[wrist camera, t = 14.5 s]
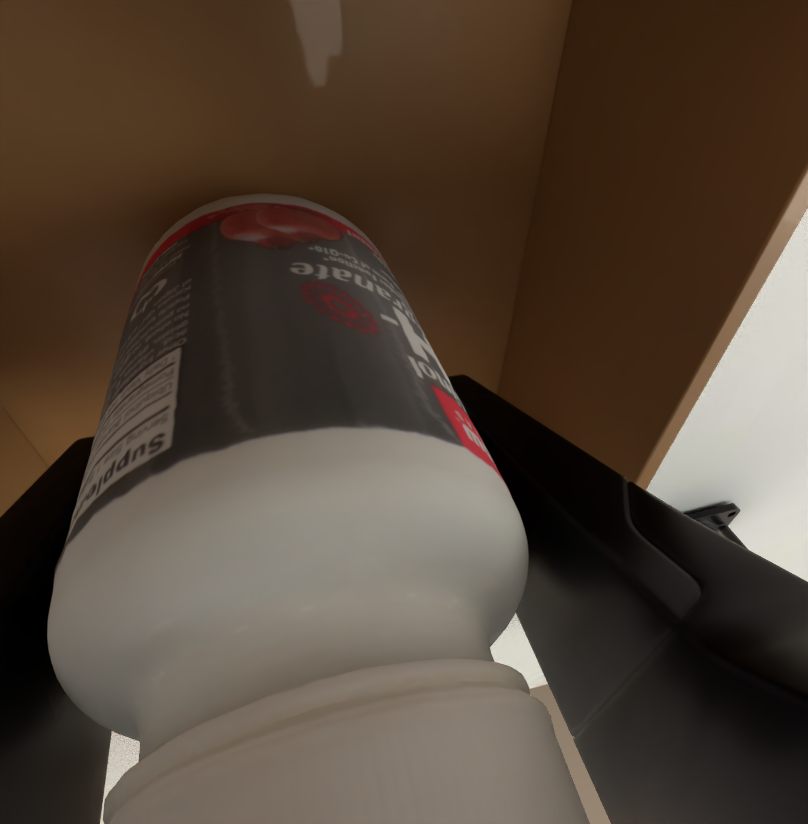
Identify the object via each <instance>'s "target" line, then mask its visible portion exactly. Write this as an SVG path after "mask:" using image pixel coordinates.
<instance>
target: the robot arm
mask: <svg viewBox="0 0 808 824" xmlns="http://www.w3.org/2000/svg"><path fill="white" fill-rule="evenodd" d="M448 378H449V381H450V383H451V385H452V387H453V389H454V391H455V393H456V394H457V396H458V397H459V399H460V400H461V402H462V404H463V406H464V408H465V410H466V412H467V414H468V416H469V418H470V420H471V422H472V423H473V425H474V427H475V428H476V430H477V432H478V434H479V435H480V437H481V439H482V441H483V443H484V445H485V447H486V448H487V450H488V452H489V454H490V456H491V458H492V459H493V461H494V463H495V465H496V467H497V469H498V471H499V473H500V474H501V476H502V478H503V480H504V482H505V483H506V485H507V487H508V489H509V492H510V494H511V497H512V499H513V501H514V503H515V505H516V507H517V509H518V511H519V514H520V517H521V519H522V522H523V525H524V529H525V533H526V537H527V542H528V554H529V561H528V575H527V581H526V585H525V589H524V592H523V596H522V599H521V601H520V603H519V606H518V608H517V610H516V614H517V616H518V618H519V621H520V623H521V625H522V627H523V629H524V632H525V634H526V636H527V638H528V640H529V643H530V645H531V647H532V649H533V651H534V654H535V656H536V658H537V660H538V662H539V665H540V667H541V669H542V671H543V673H544V676H545V678H546V680H547V682H548V684H549V687H550V689H551V691H552V693H553V695H554V697H555V700H556V702H557V704H558V707H559V709H560V711H561V713H562V715H563V717H564V720H565V722H566V724H567V726H568V729H569V731H570V733H571V735H572V736H574V738H573V740H574V742H575V744H576V747H577V749H578V751H579V753H580V755H581V758H582V760H583V762H584V764H585V767H586V769H587V771H588V773H589V775H590V778H591V780H592V782H593V784H594V786H595V788H596V791H597V793H598V795H599V797H600V800H601V802H602V804H603V806H604V809H605V811H606V813H607V815H608V817H609V820H610V822H611V824H808V582H807V581H805V580H803V579H801V578H799V577H798V576H796V575H794V574H792V573H790V572H788V571H786V570H785V569H783V568H781V567H779V566H777V565H775V564H774V563H772V562H770V561H768V560H766V559H764V558H762V557H761V556H759V555H757V554H755V553H753V552H751V551H750V550H748V549H747V548H746V546H745V545H744V544H743V543H742V542H741V541H740V540H739V538H738V537H737V536H736V535H735V534H734V533H733V532H732V531H731V529H730V528H729V527H728V525H729V524H730V523H731V521H732V520H733V519H734V518H735V517H736V515H737V514H738V513H739V511H740V509H739V508H738V507H737V506H736V505H735V504H734V503H731V504H727V505H723V506H719V507H715V508H711V509H707V510H704V511H700V512H696V513H692V514H688V515H685V514H683V513H681V512H680V511H678V510H677V509H675V508H673V507H672V506H670V505H668V504H667V503H665V502H664V501H662V500H660V499H659V498H657V497H655V496H654V495H652V494H651V493H649V492H648V491H646V490H644V489H643V488H641V487H640V486H638V485H637V484H635V483H634V482H632V481H629V482H627V479H626V478H625V477H624V476H622V475H621V474H619V473H618V472H616V471H615V470H613V469H611V468H610V467H608V466H607V465H605V464H604V463H602V462H601V461H599V460H598V459H596V458H594V457H593V456H591V455H590V454H588V453H587V452H585V451H584V450H582V449H580V448H579V447H577V446H576V445H574V444H573V443H571V442H570V441H568V440H566V439H565V438H563V437H562V436H560V435H559V434H557V433H556V432H554V431H552V430H551V429H549V428H548V427H546V426H545V425H543V424H542V423H540V422H539V421H537V420H535V419H534V418H532V417H531V416H529V415H528V414H526V413H525V412H523V411H521V410H520V409H518V408H517V407H515V406H514V405H512V404H511V403H509V402H507V401H506V400H504V399H503V398H501V397H500V396H498V395H497V394H495V393H493V392H492V391H490V390H489V389H487V388H486V387H484V386H483V385H481V384H480V383H478V382H476V381H475V380H473V379H472V378H470V377H469V376H467V375H464V374H460V375H454V376H448ZM94 437H95V436H92V437H86V438H81V439H78V440H76V441H75V442H74V443H73V444H72V445H71V446H70V447H69V448H68V449H67V450H66V451H65V452H64V453H63V454H62V455H61V456H60V457H59V458H58V459H57V460H56V461H55V462H54V463H53V464H52V465H51V466H50V467H49V468H48V469H47V470H46V471H45V472H44V473H43V474H42V475H41V476H40V477H39V478H38V479H37V480H36V481H35V482H34V483H33V484H32V485H31V486H30V487H29V488H28V489H27V490H26V491H25V492H24V493H23V494H22V495H21V496H20V497H19V499H18V500H17V501H16V502H15V503H14V504H13V505H12V506H11V507H10V508H9V509H8V510H7V511H6V512H5V513H4V514H3V515H2V516H1V517H0V824H100V818H101V811H102V803H103V795H104V787H105V779H106V771H107V764H108V756H109V748H110V740H111V732H112V730H110V729H108V728H106V727H104V726H102V725H100V724H98V723H96V722H95V721H94V720H93V719H91V718H90V717H89V716H87V715H86V714H85V713H84V712H82V711H81V710H80V709H79V708H78V707H77V706H76V705H75V704H74V703H73V702H72V700H71V699H70V698H69V696H68V695H67V694H66V693H65V691H64V689H63V688H62V686H61V684H60V683H59V681H58V679H57V677H56V674H55V671H54V668H53V666H52V663H51V658H50V654H49V649H48V639H47V629H48V616H49V610H50V604H51V599H52V594H53V587H54V574H55V567H56V565H57V563H58V560H59V558H60V556H61V553H62V551H63V548H64V545H65V543H66V540H67V537H68V534H69V529H70V525H71V520H72V516H73V513H74V510H75V507H76V504H77V499H78V496H79V492H80V488H81V485H82V481H83V478H84V474H85V471H86V468H87V464H88V461H89V457H90V453H91V449H92V444H93V440H94Z"/></svg>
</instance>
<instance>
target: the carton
mask: <svg viewBox="0 0 808 824" xmlns="http://www.w3.org/2000/svg"><path fill="white" fill-rule="evenodd" d="M264 193H267V194H277V195H289V196H294V197H300V198H303V199H306V200H309V201H312V202H314V203H317V204H320V205H322V206H324V207H326V208H328V209H331V210H333V211H335V212H336V213H338V214H340V215H342V216H343V217H345V218H346V219H347V220H349V221H350V222H351V223H353V224H354V225H355V226H356V227H357V228H359V229H360V230H361V231H362V232H363V233H364V234H365V235H366V236H367V237H368V238H369V239H370V240H371V242H372V243H373V244H374V245H375V246H376V248H377V249H378V250H379V252H380V253H381V255H382V257H383V258H384V260H385V261H386V263H387V265H388V267H389V268H390V270H391V272H392V273H393V275H394V277H395V279H396V281H397V282H398V284H399V287H400V288H401V290H402V292H403V294H404V296H405V298H406V299H407V301H408V303H409V305H410V307H411V309H412V311H413V313H414V315H415V317H416V319H417V321H418V322H419V324H420V326H421V328H422V330H423V332H424V334H425V336H426V338H427V340H428V342H429V343H430V346H431V348H432V349H433V351H434V353H435V355H436V357H437V359H438V360H439V362H440V364H441V366H442V368H443V369H444V371H445V373H446V374H447V377H448V376H454V375H460V374H464V375H467V376H469V377H470V378H472V379H473V380H475V381H476V382H478V383H480V384H481V385H483V386H484V387H486V388H487V389H489V390H490V391H492V392H493V393H495V394H497V395H498V396H500V397H501V398H503V399H504V400H506V401H507V402H509V403H511V404H512V405H514V406H515V407H517V408H518V409H520V410H521V411H523V412H525V413H526V414H528V415H529V416H531V417H532V418H534V419H535V420H537V421H539V422H540V423H542V424H543V425H545V426H546V427H548V428H549V429H551V430H552V431H554V432H556V433H557V434H559V435H560V436H562V437H563V438H565V439H566V440H568V441H570V442H571V443H573V444H574V445H576V446H577V447H579V448H580V449H582V450H584V451H585V452H587V453H588V454H590V455H591V456H593V457H594V458H596V459H598V460H599V461H601V462H602V463H604V464H605V465H607V466H608V467H610V468H611V469H613V470H615V471H616V472H618V473H619V474H621V475H622V476H624V477H625V478H626V479H627V482H629V481H632V482H634V483H635V484H637V485H638V486H640V487H641V488H643V489H644V490H646V489H647V487H648V485H649V483H650V482H651V480H652V478H653V476H654V475H655V473H656V471H657V469H658V468H659V466H660V464H661V462H662V461H663V459H664V457H665V455H666V454H667V452H668V450H669V449H670V447H671V445H672V443H673V442H674V440H675V438H676V436H677V435H678V433H679V431H680V429H681V428H682V426H683V424H684V422H685V421H686V419H687V417H688V415H689V414H690V412H691V410H692V408H693V407H694V405H695V403H696V401H697V400H698V398H699V396H700V394H701V393H702V391H703V389H704V388H705V386H706V384H707V382H708V381H709V379H710V377H711V375H712V374H713V372H714V370H715V368H716V367H717V365H718V363H719V361H720V360H721V358H722V356H723V354H724V353H725V351H726V349H727V347H728V346H729V344H730V342H731V340H732V339H733V337H734V335H735V333H736V332H737V330H738V328H739V327H740V325H741V323H742V321H743V320H744V318H745V316H746V314H747V313H748V311H749V309H750V307H751V306H752V304H753V302H754V300H755V299H756V297H757V295H758V293H759V292H760V290H761V288H762V286H763V285H764V283H765V281H766V279H767V278H768V276H769V274H770V273H771V271H772V269H773V267H774V266H775V264H776V262H777V260H778V259H779V257H780V255H781V253H782V252H783V250H784V248H785V246H786V245H787V243H788V241H789V239H790V238H791V236H792V234H793V232H794V231H795V229H796V227H797V225H798V224H799V222H800V220H801V218H802V217H803V215H804V213H805V212H806V210H807V208H808V0H0V517H1V516H2V515H3V514H4V513H5V512H6V511H7V510H8V509H9V508H10V507H11V506H12V505H13V504H14V503H15V502H16V501H17V500H18V499H19V497H20V496H21V495H22V494H23V493H24V492H25V491H26V490H27V489H28V488H29V487H30V486H31V485H32V484H33V483H34V482H35V481H36V480H37V479H38V478H39V477H40V476H41V475H42V474H43V473H44V472H45V471H46V470H47V469H48V468H49V467H50V466H51V465H52V464H53V463H54V462H55V461H56V460H57V459H58V458H59V457H60V456H61V455H62V454H63V453H64V452H65V451H66V450H67V449H68V448H69V447H70V446H71V445H72V444H73V443H74V442H75V441H76V440H78V439H81V438H86V437H92V436H95V435H96V432H97V429H98V426H99V421H100V417H101V413H102V409H103V406H104V402H105V397H106V393H107V389H108V386H109V382H110V379H111V376H112V371H113V367H114V363H115V360H116V357H117V353H118V349H119V344H120V340H121V337H122V333H123V330H124V326H125V323H126V319H127V316H128V312H129V309H130V305H131V302H132V299H133V297H134V294H135V289H136V286H137V282H138V279H139V276H140V273H141V270H142V268H143V265H144V263H145V261H146V259H147V257H148V255H149V253H150V252H151V250H152V249H153V247H154V245H155V244H156V243H157V242H158V241H159V240H160V239H161V237H162V236H163V235H164V234H165V232H167V231H168V230H169V229H170V228H171V227H172V226H173V225H174V224H175V223H176V222H178V221H179V220H181V219H182V218H184V217H185V216H187V215H188V214H190V213H191V212H193V211H194V210H196V209H198V208H200V207H202V206H203V205H206V204H209V203H211V202H214V201H217V200H220V199H222V198H226V197H232V196H240V195H248V194H264Z"/></svg>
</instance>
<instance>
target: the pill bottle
mask: <svg viewBox="0 0 808 824" xmlns="http://www.w3.org/2000/svg"><path fill="white" fill-rule="evenodd" d="M528 561H529V554H528V542H527V537H526V533H525V529H524V525H523V522H522V519H521V517H520V514H519V511H518V509H517V507H516V505H515V503H514V501H513V499H512V497H511V494H510V492H509V489H508V487H507V485H506V483H505V482H504V480H503V478H502V476H501V474H500V473H499V471H498V469H497V467H496V465H495V463H494V461H493V459H492V458H491V456H490V454H489V452H488V450H487V448H486V447H485V445H484V443H483V441H482V439H481V437H480V435H479V434H478V432H477V430H476V428H475V427H474V425H473V423H472V422H471V420H470V418H469V416H468V414H467V412H466V410H465V408H464V406H463V404H462V402H461V400H460V399H459V397H458V396H457V394H456V393H455V391H454V389H453V387H452V385H451V383H450V381H449V378H448V377H447V374H446V373H445V371H444V369H443V368H442V366H441V364H440V362H439V360H438V359H437V357H436V355H435V353H434V351H433V349H432V348H431V346H430V343H429V342H428V340H427V338H426V336H425V334H424V332H423V330H422V328H421V326H420V324H419V322H418V321H417V319H416V317H415V315H414V313H413V311H412V309H411V307H410V305H409V303H408V301H407V299H406V298H405V296H404V294H403V292H402V290H401V288H400V287H399V284H398V282H397V281H396V279H395V277H394V275H393V273H392V272H391V270H390V268H389V267H388V265H387V263H386V261H385V260H384V258H383V257H382V255H381V253H380V252H379V250H378V249H377V248H376V246H375V245H374V244H373V243H372V242H371V240H370V239H369V238H368V237H367V236H366V235H365V234H364V233H363V232H362V231H361V230H360V229H359V228H357V227H356V226H355V225H354V224H353V223H351V222H350V221H349V220H347V219H346V218H345V217H343V216H342V215H340V214H338V213H336V212H335V211H333V210H331V209H328V208H326V207H324V206H322V205H320V204H317V203H314V202H312V201H309V200H306V199H303V198H300V197H294V196H289V195H277V194H267V193H264V194H248V195H240V196H232V197H226V198H222V199H220V200H217V201H214V202H211V203H209V204H206V205H203V206H202V207H200V208H198V209H196V210H194V211H193V212H191V213H190V214H188V215H187V216H185V217H184V218H182V219H181V220H179V221H178V222H176V223H175V224H174V225H173V226H172V227H171V228H170V229H169V230H168V231H167V232H165V234H164V235H163V236H162V237H161V239H160V240H159V241H158V242H157V243H156V244H155V245H154V247H153V249H152V250H151V252H150V253H149V255H148V257H147V259H146V261H145V263H144V265H143V268H142V270H141V273H140V276H139V279H138V282H137V286H136V289H135V294H134V297H133V299H132V302H131V305H130V309H129V312H128V316H127V319H126V323H125V326H124V330H123V333H122V337H121V340H120V344H119V349H118V353H117V357H116V360H115V363H114V367H113V371H112V376H111V379H110V382H109V386H108V389H107V393H106V397H105V402H104V406H103V409H102V413H101V417H100V421H99V426H98V429H97V432H96V435H95V437H94V440H93V444H92V449H91V453H90V457H89V461H88V464H87V468H86V471H85V474H84V478H83V481H82V485H81V488H80V492H79V496H78V499H77V504H76V507H75V510H74V513H73V516H72V520H71V525H70V529H69V534H68V537H67V540H66V543H65V545H64V548H63V551H62V553H61V556H60V558H59V560H58V563H57V565H56V567H55V574H54V587H53V594H52V599H51V604H50V610H49V616H48V629H47V639H48V649H49V654H50V658H51V663H52V666H53V668H54V671H55V674H56V677H57V679H58V681H59V683H60V684H61V686H62V688H63V689H64V691H65V693H66V694H67V695H68V696H69V698H70V699H71V700H72V702H73V703H74V704H75V705H76V706H77V707H78V708H79V709H80V710H81V711H82V712H84V713H85V714H86V715H87V716H89V717H90V718H91V719H93V720H94V721H95V722H96V723H98V724H100V725H102V726H104V727H106V728H108V729H110V730H112V731H114V732H116V733H118V734H121V735H123V736H126V737H129V738H132V739H135V740H138V741H140V753H139V763H137V764H136V765H134V766H133V767H132V768H130V769H129V770H128V771H127V772H126V773H124V775H123V776H122V777H121V778H120V780H119V781H118V782H117V784H116V785H115V786H114V787H113V788H112V789H111V791H110V792H109V793H108V795H107V797H106V799H105V803H104V814H103V821H104V823H105V824H590V823H589V820H588V818H587V816H586V813H585V811H584V808H583V805H582V803H581V800H580V798H579V795H578V792H577V790H576V787H575V785H574V782H573V780H572V777H571V775H570V772H569V770H568V767H567V764H566V762H565V759H564V756H563V754H562V752H561V749H560V746H559V743H558V741H557V739H556V736H555V733H554V728H553V724H552V720H551V716H550V714H549V712H548V710H547V708H546V707H545V706H544V704H543V703H542V702H541V701H539V700H538V699H537V698H535V697H533V696H531V695H530V691H529V687H528V684H527V682H526V680H525V678H524V677H523V675H522V674H521V673H519V672H518V671H517V670H515V669H513V668H512V667H509V666H507V665H503V664H500V663H496V662H494V660H493V657H492V654H491V651H490V646H491V645H492V644H493V643H494V642H495V641H496V640H497V638H498V637H499V636H500V635H501V633H502V632H503V631H504V630H505V629H506V627H507V626H508V624H509V623H510V621H511V619H512V618H513V616H514V614H515V612H516V610H517V608H518V606H519V603H520V601H521V599H522V596H523V592H524V589H525V585H526V581H527V575H528Z"/></svg>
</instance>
